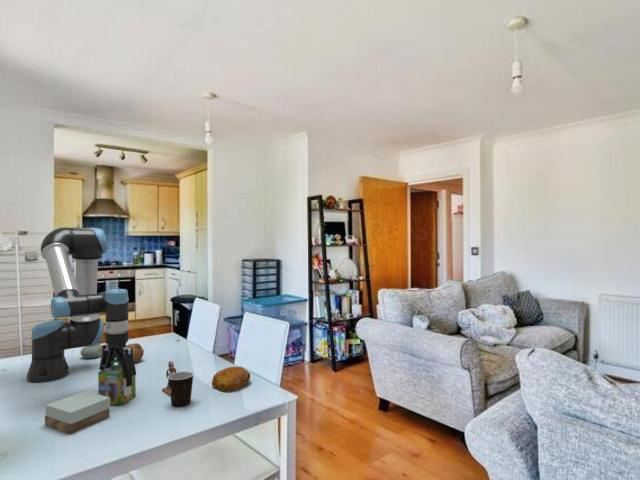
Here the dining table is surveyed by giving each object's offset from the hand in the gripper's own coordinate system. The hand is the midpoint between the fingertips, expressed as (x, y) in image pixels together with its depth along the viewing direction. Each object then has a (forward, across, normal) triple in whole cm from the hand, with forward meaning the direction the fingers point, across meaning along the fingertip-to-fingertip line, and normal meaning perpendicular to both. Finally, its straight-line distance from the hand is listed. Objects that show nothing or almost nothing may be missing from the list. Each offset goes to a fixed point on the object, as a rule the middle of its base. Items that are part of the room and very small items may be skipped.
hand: (117, 392), depth 147 cm
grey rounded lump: (+3, -61, +30) cm, 68 cm away
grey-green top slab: (0, +4, -17) cm, 17 cm away
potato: (+3, +27, +31) cm, 41 cm away
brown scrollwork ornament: (+3, +12, +14) cm, 19 cm away
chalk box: (+3, 0, 0) cm, 3 cm away
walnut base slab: (+3, +4, -17) cm, 18 cm away
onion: (+3, -35, +33) cm, 48 cm away
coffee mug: (+3, +24, +7) cm, 25 cm away
